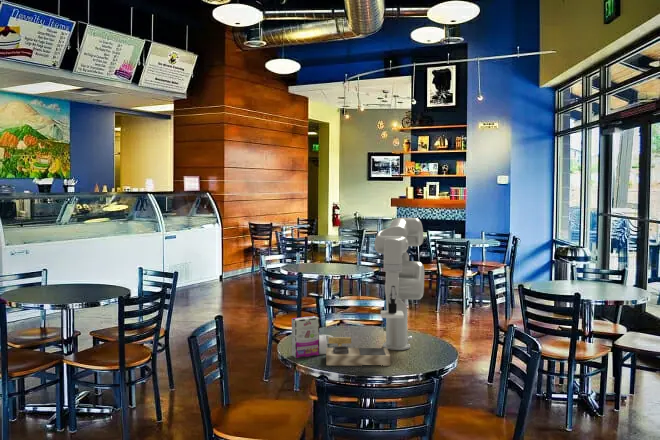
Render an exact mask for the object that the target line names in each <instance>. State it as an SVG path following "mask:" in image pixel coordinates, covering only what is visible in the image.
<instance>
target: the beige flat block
mask: <svg viewBox="0 0 660 440" xmlns="http://www.w3.org/2000/svg"><path fill="white" fill-rule="evenodd" d="M325 356H326V357H325V359H326V360H325V361H326V363H325V364H326V366H362V365H381V366H382V365H383V367H385V366H387V367H390V366H391V353H390V350H389V349H387V348H384V347H349V346H345V345H342V346H338V345H335V346H334V345H333V347H328V348H326V354H325Z"/></svg>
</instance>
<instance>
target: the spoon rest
mask: <svg viewBox="0 0 660 440" xmlns="http://www.w3.org/2000/svg"><path fill="white" fill-rule="evenodd" d="M329 337H334V336H333V335H330V334H319V355H326V348H329V347H328V346H329V344H330V343H329Z"/></svg>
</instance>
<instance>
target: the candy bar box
mask: <svg viewBox="0 0 660 440" xmlns="http://www.w3.org/2000/svg"><path fill="white" fill-rule="evenodd" d="M319 335H320V317H318V316H316V315H313V316H304V317H294V318H293V317H292V318H291V356H292V357H293V358H295V359H301V358H308V357H317V356H320V354H319Z"/></svg>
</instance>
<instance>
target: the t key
mask: <svg viewBox="0 0 660 440" xmlns="http://www.w3.org/2000/svg"><path fill="white" fill-rule="evenodd" d="M329 344H330V345H331V344H333V345H334V344H335V345H336V344H337V346H343V345H344V344H347V345H348V344H352V337H351V336H333V337H329Z"/></svg>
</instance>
